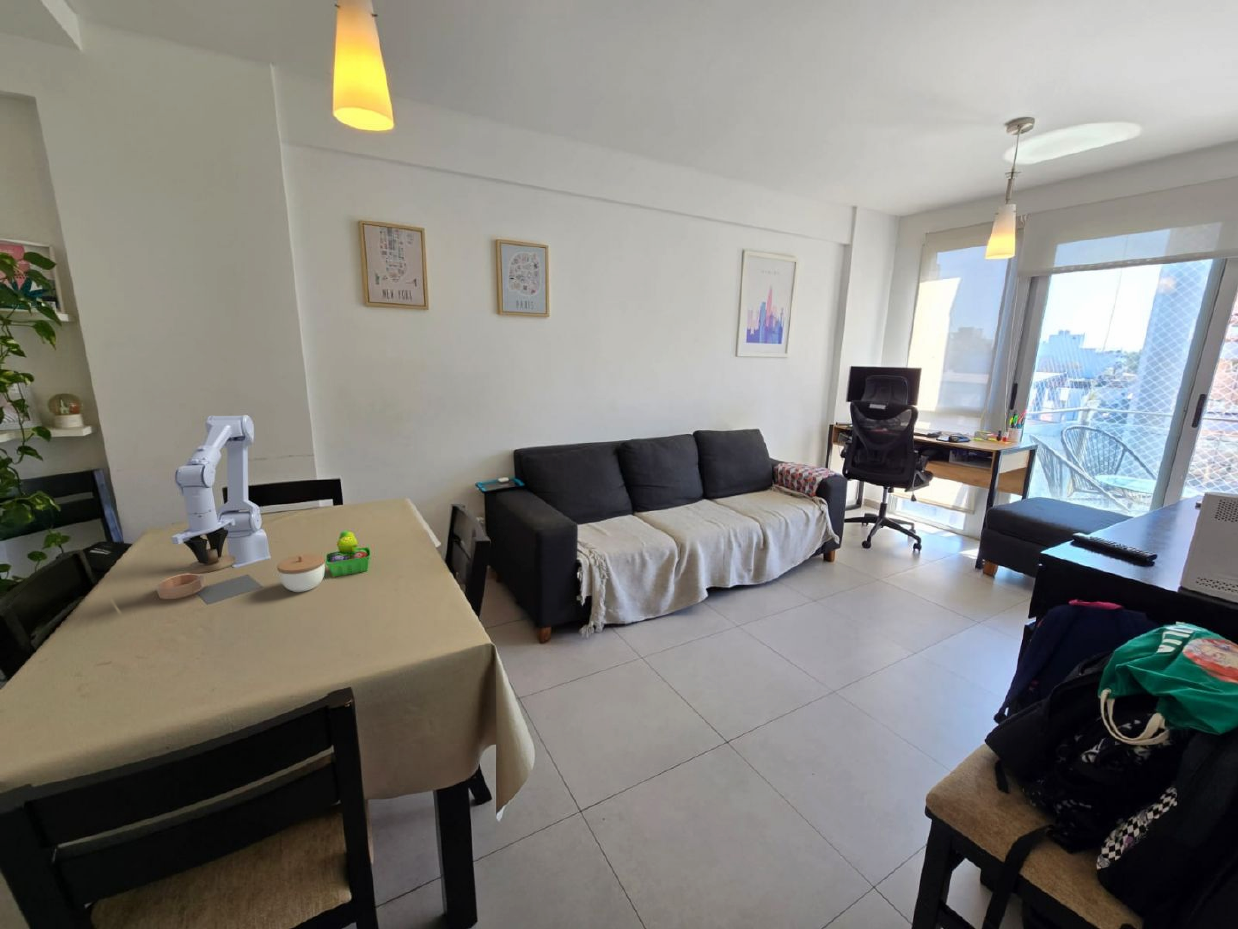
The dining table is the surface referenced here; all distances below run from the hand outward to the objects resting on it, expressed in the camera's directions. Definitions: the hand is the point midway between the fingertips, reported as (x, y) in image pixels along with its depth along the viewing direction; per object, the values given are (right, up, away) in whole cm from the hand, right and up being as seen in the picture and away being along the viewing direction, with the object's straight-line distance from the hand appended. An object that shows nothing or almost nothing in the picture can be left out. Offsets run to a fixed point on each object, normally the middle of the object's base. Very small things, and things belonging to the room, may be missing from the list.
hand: (210, 559), depth 129 cm
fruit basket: (+28, -6, +16) cm, 33 cm away
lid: (0, -2, 0) cm, 2 cm away
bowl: (-8, -9, +1) cm, 12 cm away
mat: (+3, -9, +2) cm, 9 cm away
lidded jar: (+22, -9, +4) cm, 24 cm away
